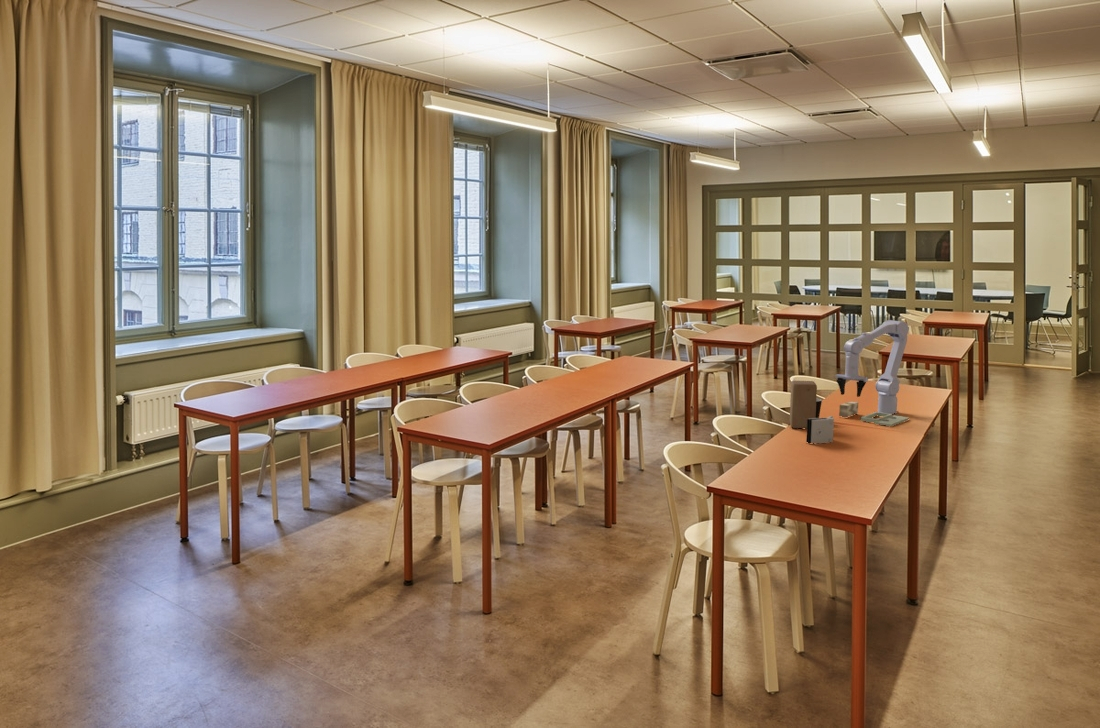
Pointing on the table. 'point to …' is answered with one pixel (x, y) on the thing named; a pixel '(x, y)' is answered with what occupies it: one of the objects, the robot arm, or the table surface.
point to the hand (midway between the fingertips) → (850, 395)
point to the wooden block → (802, 403)
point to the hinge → (820, 430)
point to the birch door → (848, 409)
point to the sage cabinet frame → (884, 419)
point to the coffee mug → (818, 407)
